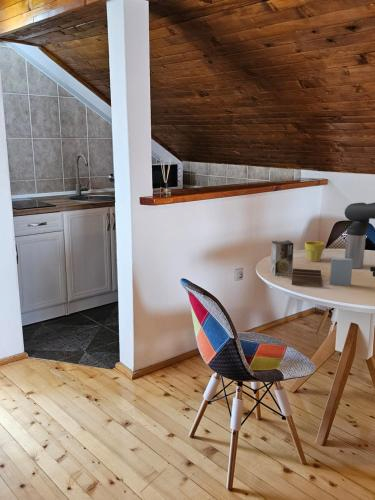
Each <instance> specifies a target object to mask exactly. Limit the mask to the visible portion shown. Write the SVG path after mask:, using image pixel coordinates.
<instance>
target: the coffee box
mask: <svg viewBox="0 0 375 500" xmlns="http://www.w3.org/2000/svg"><path fill="white" fill-rule="evenodd" d="M270 253H271V254H270V255H271V256H270V257H271V260H270V273H271V274H272V275H273V276H274V277H277V276H278V277H279V276H292V271H293V263H294V261H293V260H294V243H293V242H292V241H291V240H288V239H287V240H272V241H271V252H270Z"/></svg>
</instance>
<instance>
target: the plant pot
mask: <svg viewBox="0 0 375 500" xmlns="http://www.w3.org/2000/svg"><path fill="white" fill-rule="evenodd" d="M325 244H326V243H324V242H321V241H316V240H315V241H313V240H312V241H311V240H310V241H305V242H304V249H305V252H306V257H307V261H308V262H313V263H317V262H318V263H319V262H320V261H321V259H322V255H323V252H324V250H325Z"/></svg>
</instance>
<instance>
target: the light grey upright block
mask: <svg viewBox="0 0 375 500" xmlns="http://www.w3.org/2000/svg"><path fill="white" fill-rule="evenodd" d="M330 259H331V261H330V272H329V285H332V286H346V287H351V286H352V285H351V284H352V274H353V268H352V264H353V260H352V259H346V258H345V257H343V258H342V257H331V258H330Z"/></svg>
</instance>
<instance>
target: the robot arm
mask: <svg viewBox="0 0 375 500" xmlns="http://www.w3.org/2000/svg"><path fill="white" fill-rule="evenodd" d="M344 216H345V218H346V219H347V220H348V221H350V222H352V224H351V225H350V226H348V227H347V229H346V243H345V252H344V254H345V255H344V258H346V259H352V260H353V264H352V269H362V268H364V258H365V250H366V249H365V247H366V239H367V238H366V236H367V231H368V228H369V225H370V219H371V220H372V219H373V220H375V201H374V202H370V203H366V202H355V203H351V204H349V205H347V206H346V207H345V209H344ZM369 271H370V272H371V273H372V277H375V266H370V267H369Z"/></svg>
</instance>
